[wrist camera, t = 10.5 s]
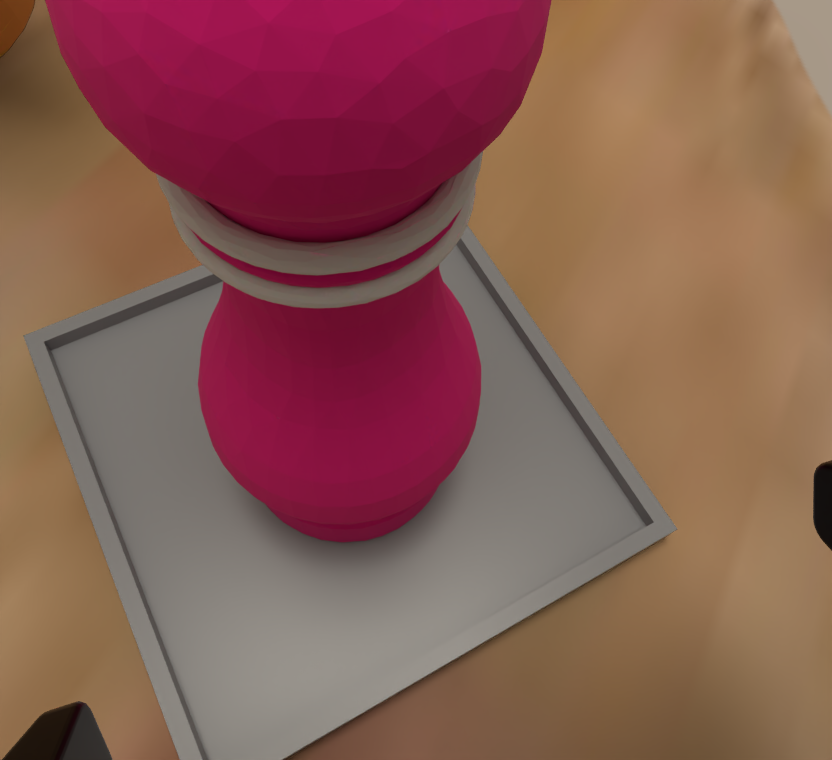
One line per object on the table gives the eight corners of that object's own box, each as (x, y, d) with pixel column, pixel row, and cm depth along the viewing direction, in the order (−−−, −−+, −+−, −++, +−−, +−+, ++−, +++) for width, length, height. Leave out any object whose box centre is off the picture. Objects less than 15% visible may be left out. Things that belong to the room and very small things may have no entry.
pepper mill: (357, 305, 26) (314, -718, 8) (510, 450, 24) (942, -484, 6) (183, 438, 23) (-473, -602, 5) (337, 613, 21) (123, -112, 3)
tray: (665, 537, 23) (677, 528, 22) (206, 805, 19) (197, 808, 18) (430, 192, 28) (432, 174, 28) (36, 350, 25) (23, 335, 24)
